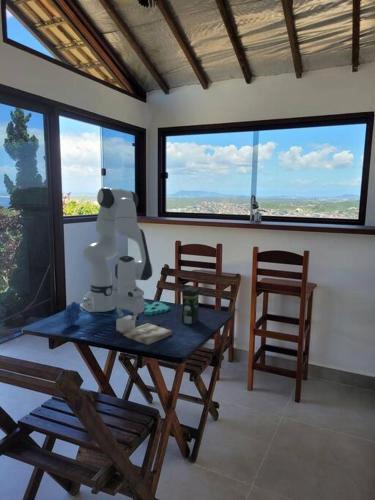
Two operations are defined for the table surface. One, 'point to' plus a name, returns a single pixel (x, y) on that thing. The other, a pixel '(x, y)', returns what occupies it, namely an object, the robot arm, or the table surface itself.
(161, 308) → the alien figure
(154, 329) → the birch board
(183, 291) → the coffee jar
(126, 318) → the block
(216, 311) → the table surface
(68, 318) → the grapes
